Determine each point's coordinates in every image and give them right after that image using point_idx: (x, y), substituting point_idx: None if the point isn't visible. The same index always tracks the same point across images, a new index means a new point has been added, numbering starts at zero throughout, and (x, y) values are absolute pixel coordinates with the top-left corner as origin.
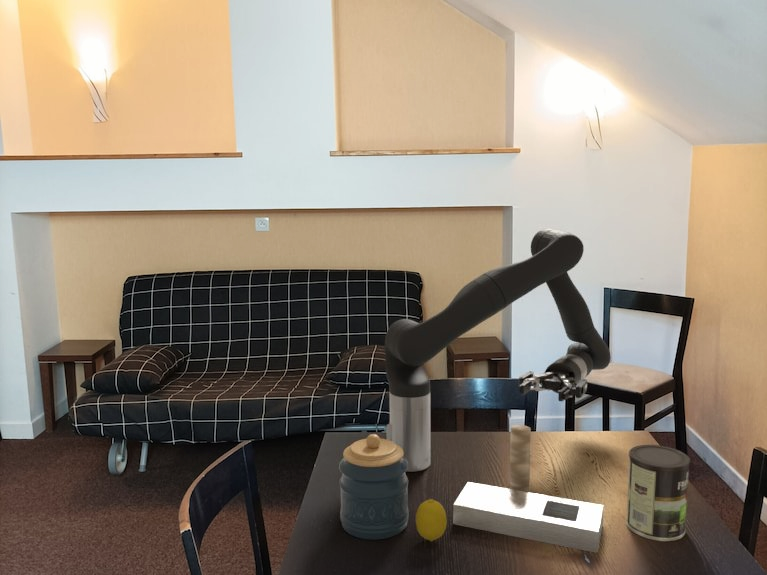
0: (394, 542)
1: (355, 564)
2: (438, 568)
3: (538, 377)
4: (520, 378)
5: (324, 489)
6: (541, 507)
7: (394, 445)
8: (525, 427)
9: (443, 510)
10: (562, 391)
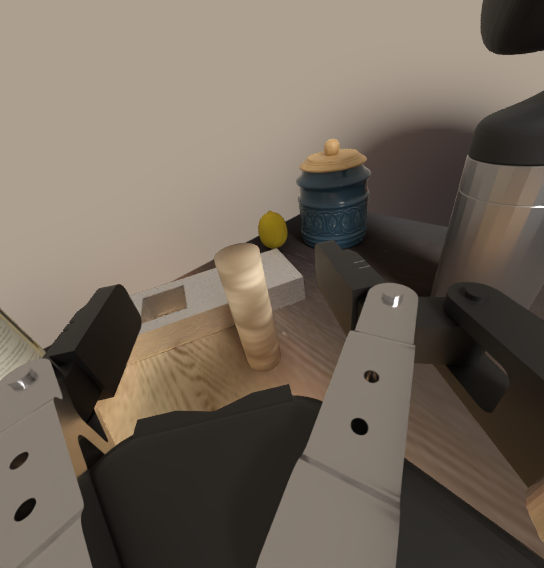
0: (296, 236)
1: (294, 219)
2: (247, 241)
3: (345, 344)
4: (457, 284)
5: (427, 229)
6: (188, 294)
7: (319, 160)
8: (230, 261)
9: (260, 224)
10: (97, 291)
